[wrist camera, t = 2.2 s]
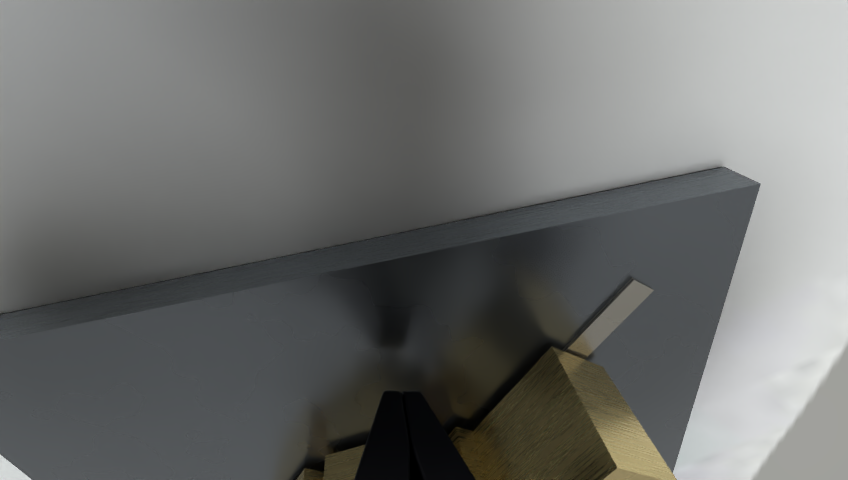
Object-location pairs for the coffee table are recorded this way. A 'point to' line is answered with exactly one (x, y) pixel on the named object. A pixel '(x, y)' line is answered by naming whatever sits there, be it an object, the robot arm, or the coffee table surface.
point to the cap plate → (375, 337)
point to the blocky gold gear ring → (547, 431)
